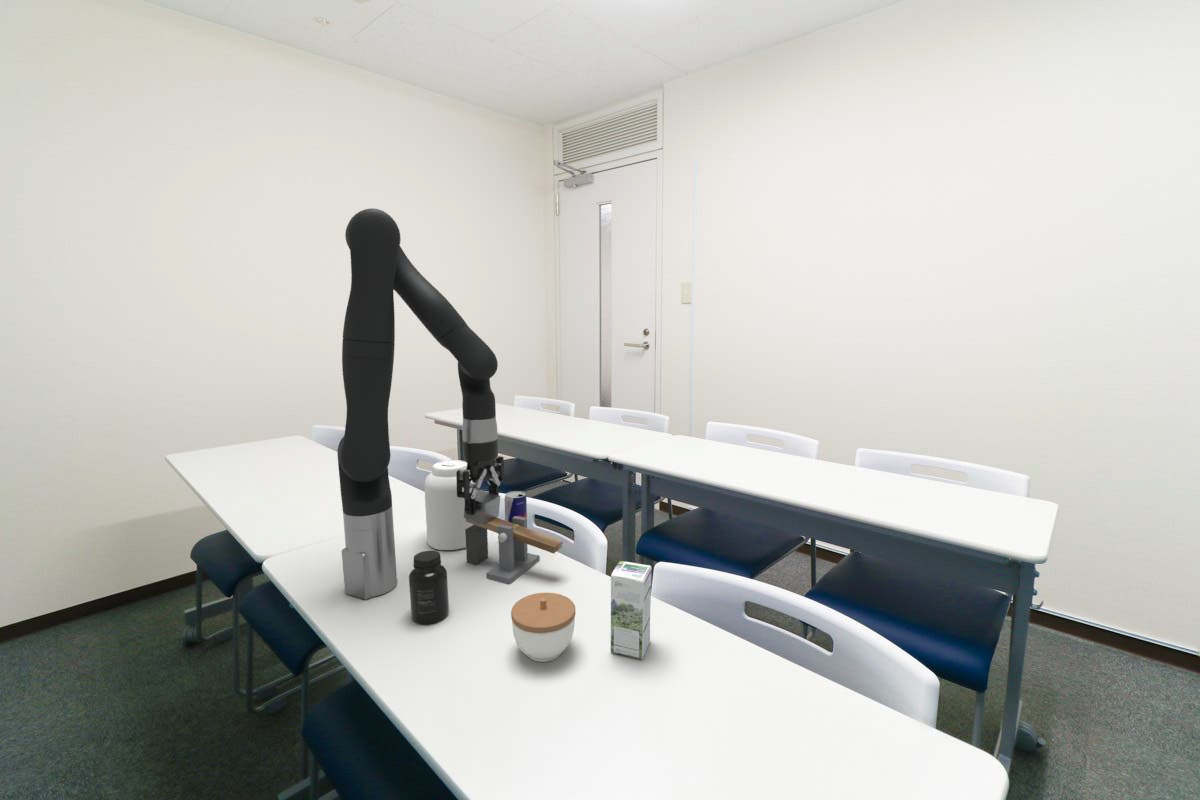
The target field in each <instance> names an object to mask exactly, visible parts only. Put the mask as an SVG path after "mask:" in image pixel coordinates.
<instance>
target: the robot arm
mask: <svg viewBox="0 0 1200 800" xmlns="http://www.w3.org/2000/svg"><path fill="white" fill-rule="evenodd" d="M344 235H345V237H344V238H345V241H346V242H345V243H346V245H347V246H348V248H349V253H350V254H349V255H350V270H351V271H350V273H351V276H350V277H351V282H350V291H349V295H348V302H347V305H346V310H345V316H344V321H343V329H342V330H343V331H342V345H341V346H342V347H341V348H342V349H341V351H342V352H341V353H342V354H341V359H342V360H341V365H342V367H341V369H342V378H343V389H344V393H345V394H344V395H345V396H344V397H345V401H346V416H345V417H346V419H345V427H344V435H343V436H342V438H341V439H340V441H339V443H338V447H337V465H338V475H339V476H338V477H339V488H340V499H341V505H342V507H341V508H342V516H343V529H344V542H345V548H342V549H341V560H342V561H341V562H342V569H343V570H342V572H343V573H342V574H343V583H344V594H347V595H349V596H353V597H356V598H359V599H363V600H366V601H367V600H369V599H371V598H374V597H378V596H382V595H385V594H386V593H389V592H391V591H392V590H394V589H395V588H396V586H397V584H398V578H397V576H398V575H397V573H398V572H397V560H396V559H397V557H396V545H395V531H394V530H395V529H394V528H395V527H394V513H393V498H392V490H391V485H390V480H389V479H390V476H389V464H390V460H391V457H392V455H391V447H390V434H389V433H390V432H389V405H390V403H389V402H390V395H391V390H392V389H391V388H392V381H393V373H394V362H395V345H396V343H395V342H396V341H395V337H396V336H395V335H396V331H395V329H396V328H395V324H396V323H395V317H396V316H395V302H394V301H395V300H394V299H395V298H394V292H395V293H397V295H398V296H399V297H400V298H401V300H403V302H404V303H405V304H406V305H407V307H408V308H409V309H410V311H411V312H412V313H413V314H414V315H415V316H416V318H417V319H418V320H419V322H420V323H421V324H422V325H423V326H424V327H425V328H426V330H427V331H428V332H429V333H430V334H431V335H432V337H433V338H434V339H435V340H436V342H438V343H439V344H440V345H441V347H443V348H444V349H446V350H447V351H448V352H449V353H450V354H451V355H452V356H453V358H455V359H456V361H457V371H458V372H457V373H458V374H457V375H458V379H459V385H460V389H461V391H460V392H461V394H462V395H461V396H462V406H461V407H462V425H461V426H462V429H461V433H462V454H463V456H462V457H463V459H464V461H465V462H467V468H466V469H465V470H458V471H457V473H456V474H457V497H460V498H464V499H465V512H466V513H467V514H469V515H474V514H476V502H475V498H474V497H475V495H476V492H477V490H480V488H481V486H482V484H484V483H485V482H487V484H488V492H490V493H493V494H496V495H499V496H500V493H499V491H500V490H499V486H500V485H501V482H505V480H506V479H505V478H506V477H505V474H506V473H505V461H504V460H505V458H504V456H501V455H499V444H498V443H499V441H498V438H499V437H498V436H499V435H498V424H497V415H496V414H497V413H496V396H495V394H494V392H493V390H492V387H491V378H492V377H494V376H495V374H496V373H497V370H498V363H499V361H498V360H497V356H496V354H495V352H494V351H493V350H492V349H491V348H490V347H489V345H488V344H487V343H486V342H485V341H484V340H483V339H482V338H481V337H480V336H479V335H478V334H477V333H475V331H474V330H472V329H471V328H470V326H469V325H468V324H467V322H466V321H465V319H464V318H463V317H462V315H460V313H459V312H458V311H457V309H455V307H454V306H453V305H452V303H451V302H449V300H448V299H447V297H445V296H444V295H443V294H442V293H441V291H439V290H438V289H437V288H436V287H435V286H434V285H433V284H432V283H431V282H430V281H428V280H427V279H426V278H425V276H423V274H421V272H420V271H419V270H418V269H417V267H415V265H413V263H412V262H411V261H410V260H409V258H408V256H407V255H406V253H405V252H404V250H403V249H402V247H401V232H400V228H399V226H398V223H397V222H396V221H395V220H394V218H393V217H392V216H391V215H390V214H389V213H388V212H386V211H384V210H383V209H379V208H364V209H361V210H360V211H358V212H357V213H355V214H354V215H353V216H352V217H351V219H349V221H348V223H347V226H346V228H345V234H344ZM498 472H499V473H498ZM498 474H499V475H498ZM471 480H472V482H474V483H475V484H472V483H470V482H471ZM462 487H463V488H464V492H462ZM470 488H472V491H471V493H469V490H470Z"/></svg>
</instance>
